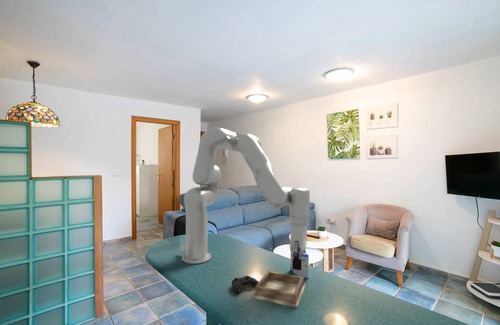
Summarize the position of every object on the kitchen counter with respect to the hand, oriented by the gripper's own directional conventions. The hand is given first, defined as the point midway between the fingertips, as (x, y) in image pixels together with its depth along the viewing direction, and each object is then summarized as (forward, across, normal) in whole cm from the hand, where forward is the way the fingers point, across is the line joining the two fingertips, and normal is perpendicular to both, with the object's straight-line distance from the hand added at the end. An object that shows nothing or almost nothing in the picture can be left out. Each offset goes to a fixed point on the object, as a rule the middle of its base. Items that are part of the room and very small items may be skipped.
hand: (299, 264), depth 94 cm
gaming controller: (+4, +18, -15) cm, 24 cm away
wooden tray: (+4, +16, -3) cm, 17 cm away
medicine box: (+4, 0, 0) cm, 4 cm away
